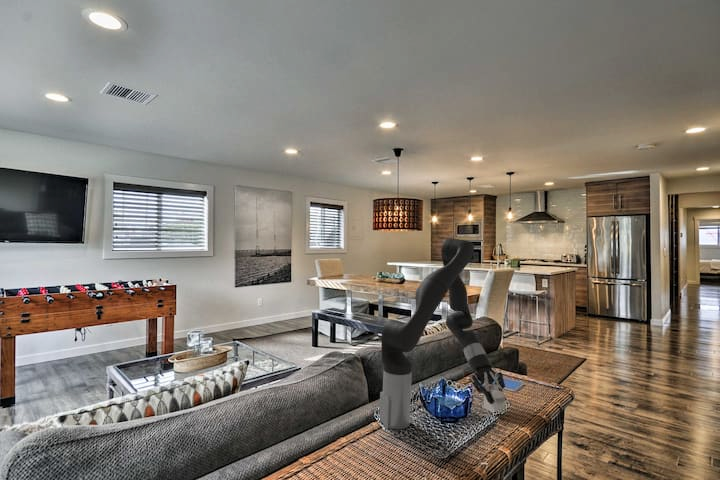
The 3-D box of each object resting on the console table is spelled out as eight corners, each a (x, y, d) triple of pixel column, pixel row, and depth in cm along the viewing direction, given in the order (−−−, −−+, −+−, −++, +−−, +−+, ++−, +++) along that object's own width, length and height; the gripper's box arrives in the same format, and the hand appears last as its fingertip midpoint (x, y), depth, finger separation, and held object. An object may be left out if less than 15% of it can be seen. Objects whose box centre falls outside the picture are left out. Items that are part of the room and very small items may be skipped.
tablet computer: (469, 381, 167) (470, 378, 167) (481, 374, 177) (481, 371, 177) (514, 393, 154) (514, 390, 154) (524, 385, 164) (524, 382, 164)
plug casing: (494, 415, 132) (495, 388, 132) (483, 409, 137) (484, 383, 138) (504, 414, 134) (505, 387, 134) (493, 407, 139) (494, 381, 139)
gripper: (466, 354, 140) (487, 400, 129) (496, 351, 145) (519, 395, 134) (457, 364, 145) (476, 409, 134) (486, 361, 150) (508, 404, 139)
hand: (498, 402), depth 134 cm, fingers closed on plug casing, 4 cm apart
